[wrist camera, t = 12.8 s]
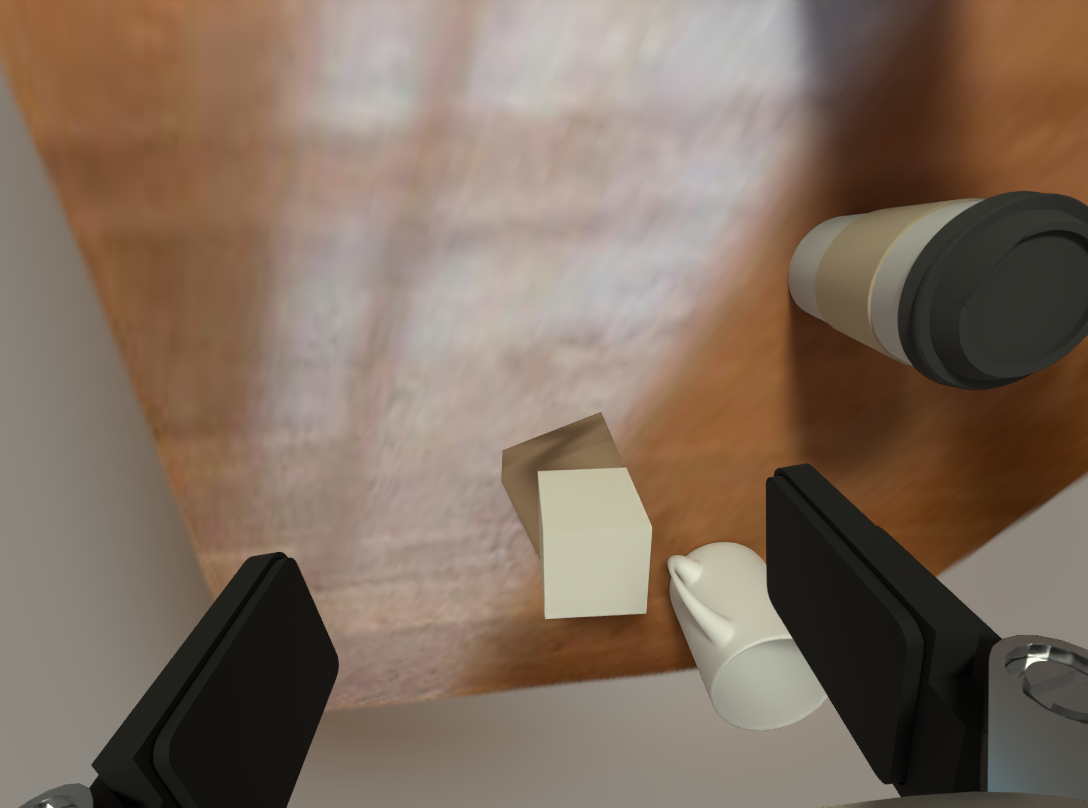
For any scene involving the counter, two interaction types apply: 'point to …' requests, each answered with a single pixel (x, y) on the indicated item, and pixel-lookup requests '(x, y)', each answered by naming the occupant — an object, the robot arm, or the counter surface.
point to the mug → (741, 639)
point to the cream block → (592, 543)
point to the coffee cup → (954, 284)
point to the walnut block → (554, 463)
